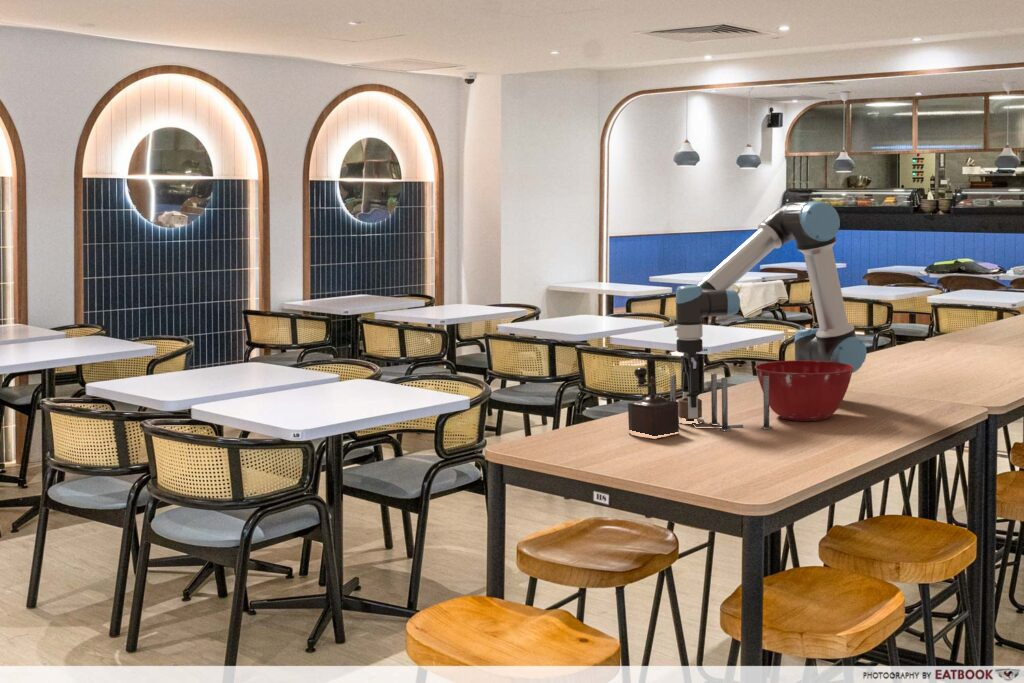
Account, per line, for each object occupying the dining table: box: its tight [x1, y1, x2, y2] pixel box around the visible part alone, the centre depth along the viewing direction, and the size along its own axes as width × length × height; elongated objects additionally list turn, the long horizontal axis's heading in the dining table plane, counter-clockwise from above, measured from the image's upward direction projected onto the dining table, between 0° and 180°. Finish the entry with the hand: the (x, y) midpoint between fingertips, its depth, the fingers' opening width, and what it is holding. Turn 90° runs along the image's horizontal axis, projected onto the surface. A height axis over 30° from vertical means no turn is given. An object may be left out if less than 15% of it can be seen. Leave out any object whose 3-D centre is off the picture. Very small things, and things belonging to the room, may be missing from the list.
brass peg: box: [686, 418, 705, 423], centre depth 338 cm, size 8×8×6 cm
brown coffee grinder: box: [627, 367, 680, 436], centre depth 324 cm, size 16×11×18 cm
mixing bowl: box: [754, 360, 854, 422], centre depth 340 cm, size 28×28×15 cm
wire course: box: [669, 372, 773, 432], centre depth 329 cm, size 12×28×15 cm, turn 93°
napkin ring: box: [677, 397, 703, 419], centre depth 338 cm, size 6×6×5 cm
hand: (690, 415), depth 338 cm, fingers closed on napkin ring, 6 cm apart
